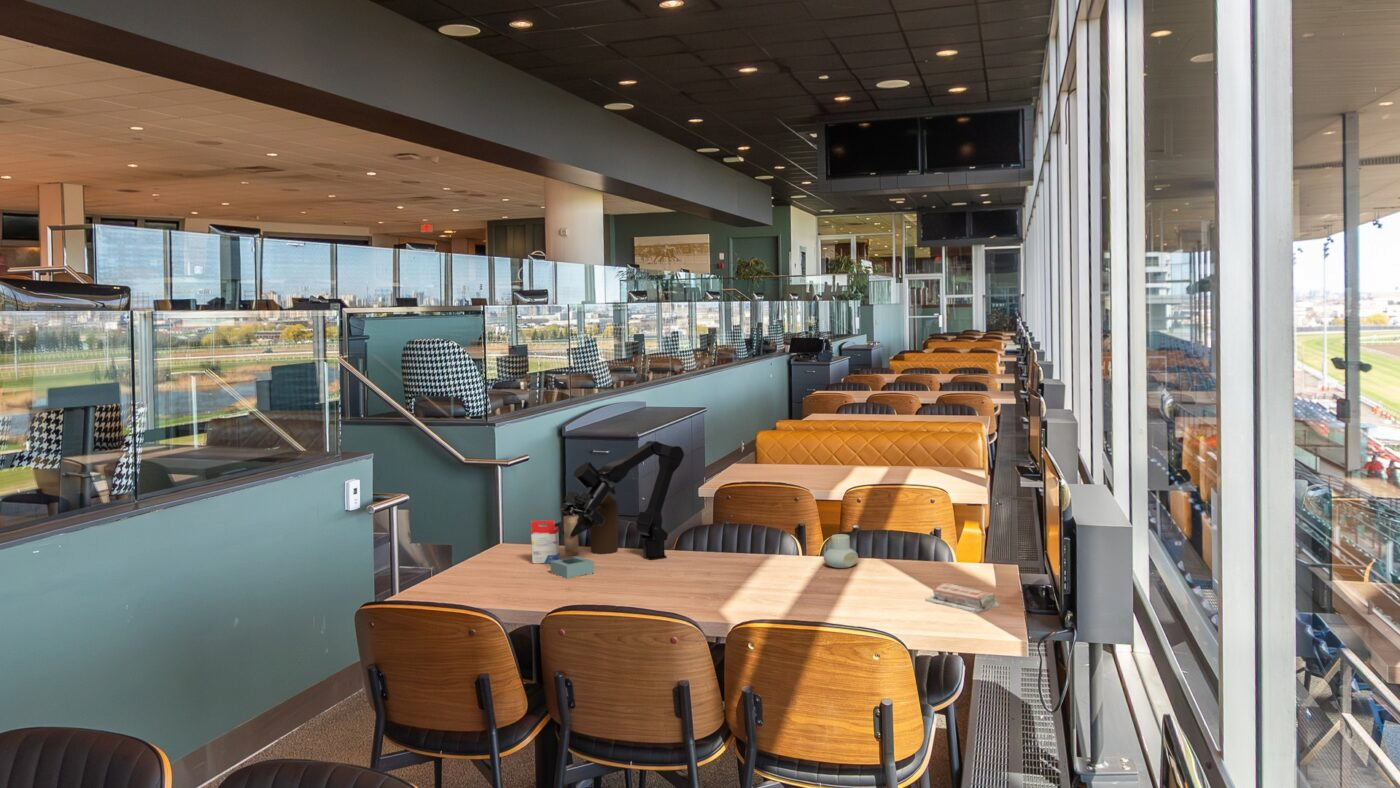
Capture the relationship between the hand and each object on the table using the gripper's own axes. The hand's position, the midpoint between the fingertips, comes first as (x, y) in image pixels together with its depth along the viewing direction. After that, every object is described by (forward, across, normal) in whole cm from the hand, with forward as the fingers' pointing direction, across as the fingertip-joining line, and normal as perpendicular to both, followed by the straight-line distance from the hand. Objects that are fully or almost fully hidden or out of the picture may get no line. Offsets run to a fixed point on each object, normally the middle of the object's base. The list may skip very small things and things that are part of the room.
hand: (567, 535), depth 341 cm
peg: (+4, 0, +6) cm, 7 cm away
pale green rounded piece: (-39, +54, +58) cm, 88 cm away
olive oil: (-10, -21, +29) cm, 37 cm away
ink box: (+6, -21, +12) cm, 25 cm away
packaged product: (-32, +109, +51) cm, 125 cm away
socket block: (+8, 0, +10) cm, 13 cm away
